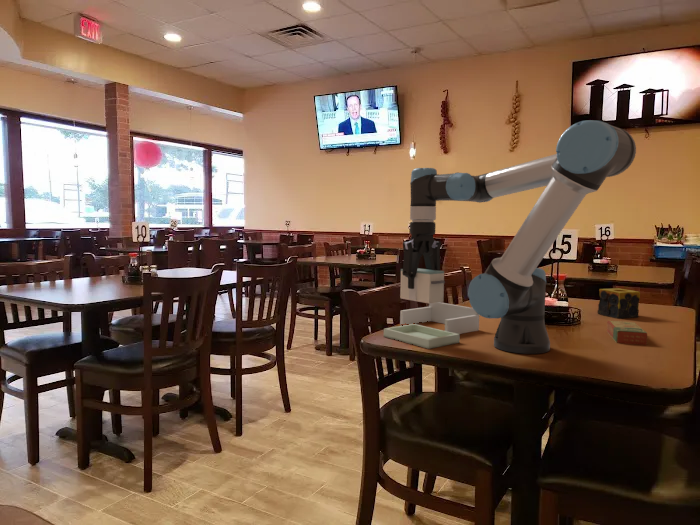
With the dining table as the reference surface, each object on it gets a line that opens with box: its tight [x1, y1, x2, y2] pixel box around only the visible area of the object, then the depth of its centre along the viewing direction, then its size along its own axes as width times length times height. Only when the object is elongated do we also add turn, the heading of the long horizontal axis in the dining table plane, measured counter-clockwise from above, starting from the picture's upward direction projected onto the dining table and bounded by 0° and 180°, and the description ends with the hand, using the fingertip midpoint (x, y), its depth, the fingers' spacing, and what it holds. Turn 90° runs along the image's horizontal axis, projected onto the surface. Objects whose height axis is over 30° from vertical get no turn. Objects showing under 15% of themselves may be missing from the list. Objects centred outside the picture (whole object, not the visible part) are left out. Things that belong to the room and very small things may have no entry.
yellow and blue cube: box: [597, 287, 641, 320], centre depth 199 cm, size 10×10×10 cm
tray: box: [383, 323, 461, 350], centre depth 157 cm, size 19×13×2 cm
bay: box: [399, 302, 480, 335], centre depth 175 cm, size 21×15×7 cm
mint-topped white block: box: [399, 267, 446, 304], centre depth 155 cm, size 13×6×9 cm, turn 38°
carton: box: [606, 320, 648, 346], centre depth 161 cm, size 8×16×4 cm, turn 163°
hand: (421, 298), depth 156 cm, fingers closed on mint-topped white block, 6 cm apart
